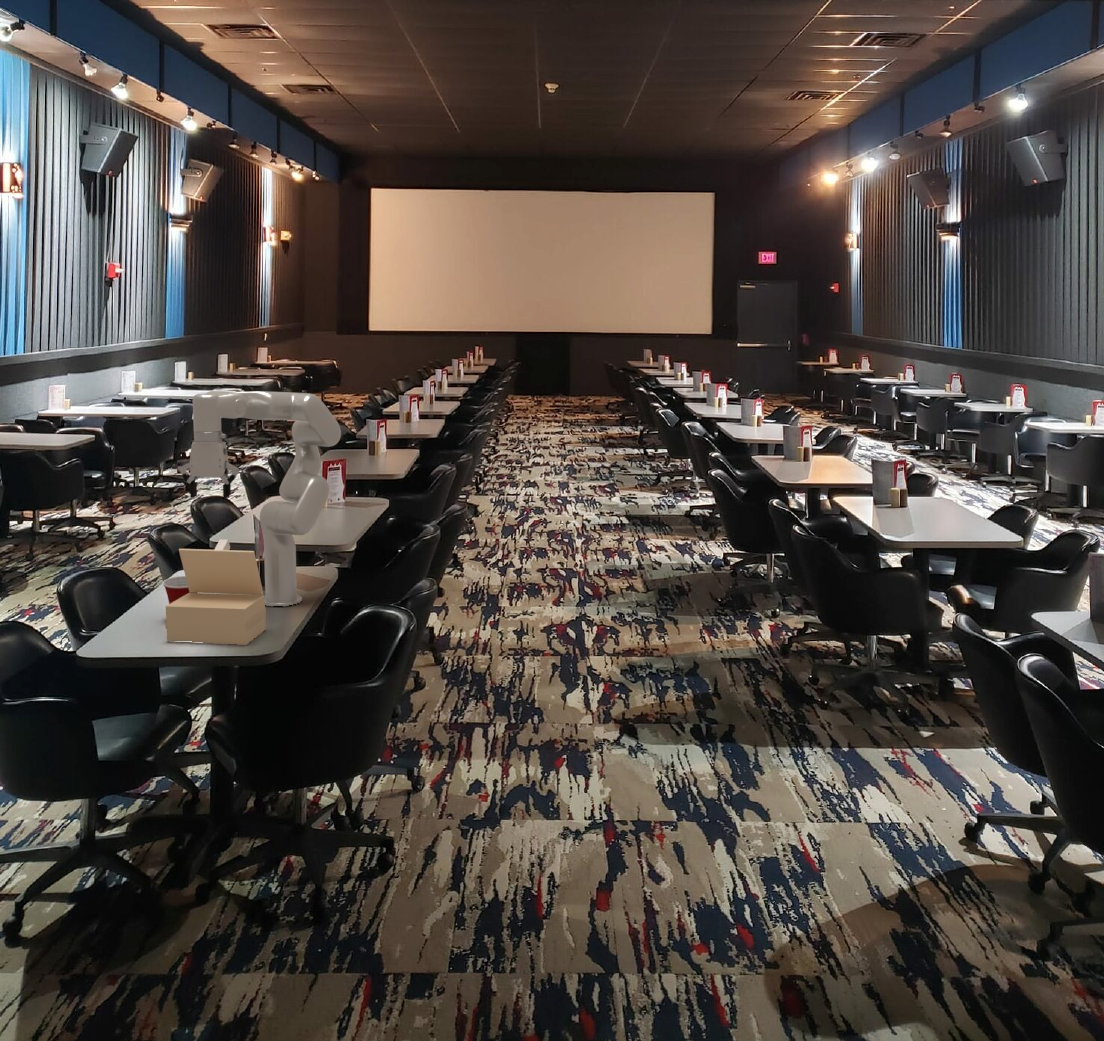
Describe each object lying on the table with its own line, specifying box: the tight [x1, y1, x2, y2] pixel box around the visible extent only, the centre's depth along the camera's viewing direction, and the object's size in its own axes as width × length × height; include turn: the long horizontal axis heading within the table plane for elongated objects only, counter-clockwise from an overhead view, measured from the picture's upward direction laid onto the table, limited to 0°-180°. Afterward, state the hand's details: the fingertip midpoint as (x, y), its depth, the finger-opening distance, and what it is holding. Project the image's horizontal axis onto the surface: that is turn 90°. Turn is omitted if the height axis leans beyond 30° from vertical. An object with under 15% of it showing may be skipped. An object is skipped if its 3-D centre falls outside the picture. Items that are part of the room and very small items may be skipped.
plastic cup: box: [161, 575, 194, 605], centre depth 341 cm, size 11×11×12 cm
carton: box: [164, 593, 267, 646], centre depth 325 cm, size 16×22×10 cm
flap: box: [178, 538, 264, 595], centre depth 330 cm, size 15×21×7 cm
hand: (210, 497), depth 336 cm, fingers open, 9 cm apart
